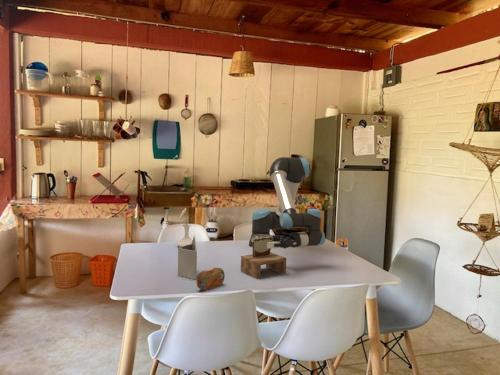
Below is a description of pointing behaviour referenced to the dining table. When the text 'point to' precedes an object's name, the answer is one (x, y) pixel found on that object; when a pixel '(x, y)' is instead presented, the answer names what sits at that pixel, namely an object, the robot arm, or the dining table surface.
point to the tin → (210, 278)
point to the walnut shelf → (253, 265)
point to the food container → (261, 245)
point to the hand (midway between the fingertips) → (261, 242)
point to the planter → (187, 260)
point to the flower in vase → (186, 239)
